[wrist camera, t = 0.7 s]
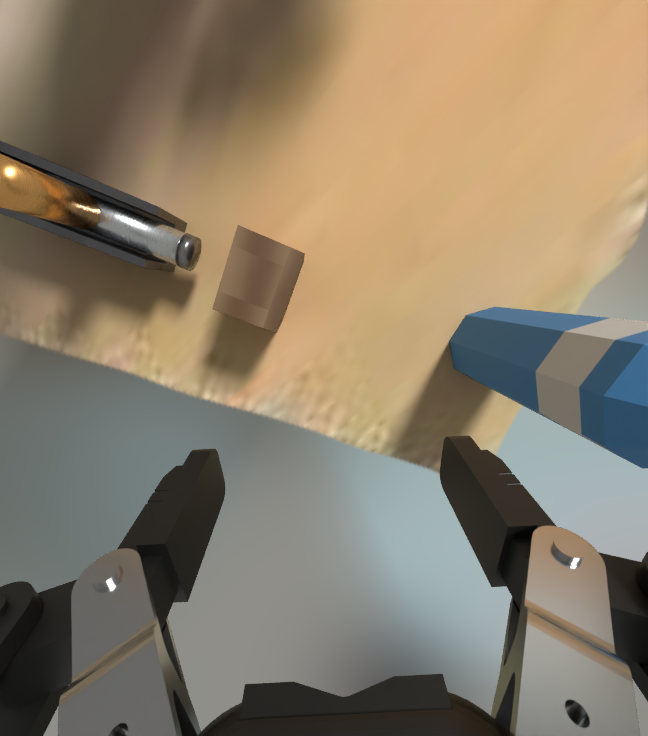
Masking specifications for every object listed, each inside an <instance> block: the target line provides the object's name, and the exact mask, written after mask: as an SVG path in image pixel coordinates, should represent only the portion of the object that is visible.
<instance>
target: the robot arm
mask: <svg viewBox="0 0 648 736" xmlns="http://www.w3.org/2000/svg"><path fill="white" fill-rule="evenodd" d="M440 480H441V484H442V487H443V490H444V492H445V494H446V496H447V498H448V500H449V502H450V504H451V506H452V508H453V510H454V512H455V514H456V516H457V518H458V520H459V522H460V524H461V526H462V528H463V530H464V532H465V534H466V536H467V538H468V540H469V542H470V544H471V546H472V548H473V550H474V552H475V554H476V556H477V558H478V560H479V562H480V564H481V566H482V568H483V570H484V573H485V575H486V577H487V579H488V580H489V583H490V585H491V587H500V586H507V588H508V590H509V591H510V593H511V595H512V599H511V603H510V609H509V616H508V622H507V629H506V635H505V643H504V649H503V655H502V663H501V668H500V675H499V680H498V684H497V688H496V693H495V697H494V701H493V706H492V712H491V716H490V715H489V714H488V713H486V712H485V711H484V710H482V709H481V708H479V707H478V706H476V705H475V704H473V703H471V702H470V701H468V700H466V699H464V698H462V697H459V696H457V695H455V694H452V693H449V692H447V688H446V685H445V682H444V678H443V674H432V675H415V676H394V677H392V678H389V679H387V680H385V681H383V682H380V683H378V684H376V685H373V686H371V687H369V688H367V689H364V690H362V691H360V692H358V693H355V694H353V695H351V696H348V697H340V696H337V695H334V694H330V693H327V692H324V691H321V690H318V689H315V688H311V687H308V686H305V685H302V684H299V683H295V682H280V683H262V684H246V685H245V689H244V695H243V700H242V703H240V704H238V705H236V706H234V707H232V708H231V709H229V710H227V711H226V712H224V713H222V714H221V715H220V716H219V717H217V718H216V719H215V720H213V721H212V722H211V723H210V724H209V725H208V726H207V727H206V728H205V729H204V730H203V731H202V732H201V730H200V726H199V723H198V720H197V717H196V714H195V711H194V708H193V705H192V702H191V700H190V697H189V694H188V690H187V687H186V683H185V680H184V676H183V673H182V669H181V665H180V661H179V658H178V654H177V650H176V647H175V643H174V639H173V636H172V632H171V629H170V625H169V621H168V619H167V616H168V614H169V611H170V609H171V606H172V604H173V602H188V599H189V597H190V594H191V591H192V588H193V585H194V582H195V580H196V577H197V574H198V571H199V568H200V565H201V563H202V560H203V557H204V554H205V551H206V549H207V546H208V543H209V540H210V537H211V535H212V532H213V529H214V526H215V523H216V520H217V518H218V515H219V512H220V509H221V506H222V503H223V500H224V496H225V481H224V477H223V472H222V468H221V464H220V461H219V456H218V452H217V450H216V449H201V450H192V451H191V452H190V454H189V456H188V458H187V459H186V461H185V462H184V464H183V466H176V467H175V468H173V469H172V470H171V471H170V472H169V473H168V474H166V475H165V476H164V477H163V479H162V480H161V482H160V483H159V485H158V486H157V488H156V489H155V493H153V494H152V496H151V497H150V499H149V500H148V504H146V505H145V507H144V508H143V510H142V511H141V513H140V514H139V516H138V517H137V519H136V521H135V522H134V524H133V526H132V527H131V528H130V530H129V532H128V533H127V535H126V536H125V538H124V539H123V541H122V543H121V544H120V546H119V547H118V549H117V550H114V551H112V552H109V553H107V554H105V555H103V556H102V557H100V558H98V559H97V560H96V561H94V562H93V563H92V564H90V566H88V567H87V568H86V569H85V570H84V571H83V572H82V574H81V575H80V576H79V578H78V579H77V580H74V581H72V582H69V583H66V584H63V585H60V586H57V587H54V588H51V589H48V590H45V591H43V592H40V593H37V592H36V591H35V590H34V588H33V587H32V585H31V584H29V583H28V582H14V583H10V584H7V585H4V586H2V587H0V736H43V735H44V733H45V731H46V729H47V727H48V725H49V723H50V721H51V719H52V717H53V715H54V713H55V711H56V709H57V707H58V705H59V709H58V710H59V711H58V736H640V729H639V722H638V715H637V708H636V701H635V694H634V687H633V680H634V681H635V683H636V684H637V686H638V687H639V689H640V690H641V692H642V693H643V695H644V696H645V698H646V699H647V701H648V552H647V553H646V555H645V557H644V558H643V560H642V562H638V561H633V560H629V559H624V558H620V557H616V556H611V555H607V554H603V553H599V552H597V550H596V549H595V548H594V547H593V546H592V545H591V544H590V543H589V542H587V541H586V540H585V539H583V538H582V537H580V536H579V535H577V534H575V533H573V532H571V531H569V530H567V529H563V528H561V527H557V526H556V525H555V524H554V523H553V522H552V520H551V519H550V518H549V517H548V515H547V514H546V513H545V512H544V511H543V509H542V508H541V507H540V506H539V505H538V503H537V502H536V501H535V500H534V498H533V497H532V496H531V495H530V494H529V493H528V491H527V490H526V489H525V488H524V486H523V485H521V484H520V481H519V480H518V479H517V478H516V477H515V475H512V472H511V471H510V469H509V468H508V467H507V466H506V464H505V463H504V462H503V461H502V460H501V459H500V458H498V457H497V456H495V455H494V454H492V453H491V452H490V451H488V450H480V448H479V447H478V446H477V444H476V443H475V442H474V441H473V439H472V438H471V437H470V436H453V437H446V438H445V439H444V444H443V451H442V459H441V467H440ZM632 678H633V680H632ZM70 684H71V685H70Z"/></svg>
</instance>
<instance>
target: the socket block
mask: <svg viewBox="0 0 648 736" xmlns="http://www.w3.org/2000/svg"><path fill="white" fill-rule="evenodd" d="M304 255H305V253H302V252H300V251H298V250H295V249H293V248H291V247H288V246H286V245H284V244H281V243H279V242H277V241H274V240H272V239H269V238H267V237H265V236H262V235H260V234H258V233H255V232H253V231H251V230H248V229H246V228H244V227H241V226H239V225H238V227H237V230H236V233H235V237H234V240H233V243H232V246H231V250H230V253H229V256H228V259H227V263H226V266H225V269H224V273H223V276H222V279H221V282H220V286H219V289H218V292H217V296H216V299H215V302H214V305H213V310H216V311H218V312H221V313H224V314H226V315H229V316H232V317H234V318H237V319H240V320H242V321H245V322H248V323H250V324H253V325H256V326H258V327H261V328H264V329H266V330H269V331H272V332H274V333H276V332H277V330H278V329H279V327H280V325H281V323H282V321H283V318H284V315H285V312H286V309H287V307H288V304H289V301H290V298H291V296H292V293H293V290H294V287H295V284H296V282H297V279H298V276H299V273H300V270H301V268H302V265H303V262H304Z"/></svg>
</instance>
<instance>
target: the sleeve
mask: <svg viewBox="0 0 648 736" xmlns="http://www.w3.org/2000/svg"><path fill="white" fill-rule="evenodd" d="M0 154H2V155H4V156H7V157H9V158H11V159H13V160H15V161H18V162H20V163H22V164H24V165H27V166H29V167H31V168H33V169H36V170H38V171H40V172H42V173H45V174H47V175H49V176H51V177H53V178H56V179H58V180H60V181H62V182H65V183H67V184H69V185H71V186H74V187H76V188H78V189H80V190H83V191H85V192H87V193H89V194H91V195H93V196H96V197H98V198H101V199H103V200H106V201H108V202H111V203H113V204H115V205H118V206H120V207H123V208H125V209H128V210H130V211H133V212H135V213H137V214H140V215H142V216H145V217H147V218H150V219H152V220H155V221H157V222H159V223H162V224H164V225H167V226H169V227H172V228H174V229H176V230H179V231H181V232H184V233H185V229H186V225H187V223H186V222H184V221H182V220H181V219H179V218H177V217H175V216H174V215H172V214H170V213H168V212H167V211H165V210H163V209H161V208H160V207H157V206H155V205H153V204H150V203H148V202H146V201H143V200H141V199H138V198H136V197H134V196H131V195H129V194H126V193H124V192H122V191H119V190H117V189H114V188H112V187H110V186H107V185H105V184H102V183H100V182H98V181H95V180H93V179H90V178H88V177H86V176H83V175H81V174H79V173H76V172H74V171H71V170H69V169H67V168H64V167H62V166H59V165H57V164H55V163H52V162H50V161H47V160H45V159H43V158H40V157H38V156H35V155H33V154H31V153H28V152H26V151H23V150H21V149H19V148H16V147H14V146H11V145H9V144H7V143H4V142H2V141H0ZM0 213H2V214H4V215H7V216H10V217H12V218H15V219H17V220H20V221H23V222H25V223H28V224H31V225H33V226H36V227H38V228H41V229H44V230H46V231H49V232H51V233H54V234H57V235H59V236H62V237H65V238H67V239H70V240H72V241H75V242H78V243H80V244H83V245H85V246H88V247H91V248H93V249H96V250H99V251H101V252H104V253H106V254H109V255H112V256H114V257H117V258H120V259H122V260H125V261H127V262H130V263H133V264H135V265H138V266H140V267H143V268H149V269H157V270H165V271H172V272H174V270H175V266H176V265H175V264H172V263H170V262H167V261H165V260H162V259H160V258H157V257H155V256H152V255H149V254H147V253H144V252H142V251H139V250H137V249H134V248H131V247H129V246H126V245H124V244H121V243H119V242H116V241H114V240H111V239H108V238H106V237H103V236H101V235H98V234H96V233H93V232H91V231H88V230H85V229H79V228H76V227H72V226H68V225H65V224H61V223H57V222H53V221H50V220H46V219H42V218H38V217H35V216H31V215H27V214H24V213H20V212H16V211H12V210H9V209H5V208H1V207H0Z"/></svg>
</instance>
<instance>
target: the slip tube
mask: <svg viewBox="0 0 648 736" xmlns="http://www.w3.org/2000/svg"><path fill="white" fill-rule="evenodd" d="M0 207H1V208H5V209H9V210H12V211H16V212H20V213H24V214H27V215H31V216H35V217H38V218H42V219H46V220H50V221H53V222H57V223H61V224H65V225H68V226H72V227H76V228H79V229H85V230H88V231H91V232H93V233H96V234H98V235H101V236H103V237H106V238H108V239H111V240H114V241H116V242H119V243H121V244H124V245H126V246H129V247H131V248H134V249H137V250H139V251H142V252H144V253H147V254H149V255H152V256H155V257H157V258H160V259H162V260H165V261H167V262H170V263H172V264H175V265H177V266H179V267H181V268H184V269H186V270H189V271H191V270H193V269H194V268H195V266H196V264H197V262H198V260H199V257H200V253H201V240H200V239H199V238H197V237H195V236H193V235H190V234H188V233H184V232H181V231H179V230H176V229H174V228H172V227H169V226H167V225H164V224H162V223H159V222H157V221H155V220H152V219H150V218H147V217H145V216H142V215H140V214H137V213H135V212H133V211H130V210H128V209H125V208H123V207H120V206H118V205H115V204H113V203H111V202H108V201H106V200H103V199H101V198H98V197H96V196H93V195H91V194H89V193H87V192H85V191H83V190H80V189H78V188H76V187H74V186H71V185H69V184H67V183H65V182H62V181H60V180H58V179H56V178H53V177H51V176H49V175H47V174H45V173H42V172H40V171H38V170H36V169H33V168H31V167H29V166H27V165H24V164H22V163H20V162H18V161H15V160H13V159H11V158H9V157H7V156H4V155H2V154H0Z"/></svg>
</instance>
